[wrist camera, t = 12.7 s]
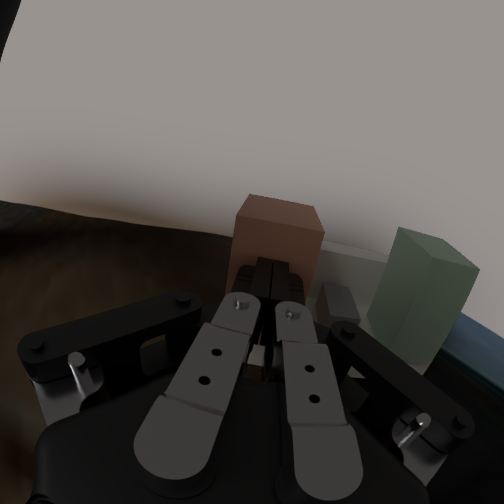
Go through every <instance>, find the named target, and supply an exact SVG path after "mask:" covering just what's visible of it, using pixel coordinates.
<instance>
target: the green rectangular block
mask: <svg viewBox="0 0 504 504" xmlns="http://www.w3.org/2000/svg"><path fill="white" fill-rule="evenodd" d="M479 271H480V269H479V268H478V267H476V266H475V265H474V264H473V263H472V262H471V261H469V260H468V259H467V258H466V257H465V256H463V255H462V254H461V253H460V252H458V251H457V250H456V249H455V248H453V247H452V246H451V245H450V244H448V243H447V242H446V241H444V240H443V239H440V238H437V237H433V236H430V235H426V234H423V233H419V232H416V231H412V230H408V229H405V228H401V227H398V230H397V234H396V237H395V240H394V243H393V246H392V249H391V252H390V255H389V258H388V261H387V263H386V266H385V269H384V272H383V274H382V277H381V280H380V282H379V285H378V287H377V290H376V293H375V295H374V298H373V300H372V302H371V305H370V307H369V310H368V312H367V314H366V315H367V317H368V320H369V322H370V325H371V328H372V330H373V333H374V336H375V338H376V340H377V341H378V342H380V343H381V344H382V345H384V346H385V347H386V348H387V349H389V350H390V351H391V352H393V353H394V354H395V355H396V356H398V357H399V358H400V359H402V360H403V361H412V362H432V360H433V358H434V357H435V355H436V354H437V352H438V351H439V349H440V347H441V346H442V344H443V342H444V341H445V339H446V337H447V336H448V334H449V332H450V330H451V329H452V327H453V325H454V323H455V321H456V319H457V318H458V316H459V314H460V312H461V310H462V308H463V306H464V304H465V302H466V300H467V298H468V296H469V294H470V291H471V289H472V287H473V284H474V282H475V280H476V278H477V275H478V273H479Z"/></svg>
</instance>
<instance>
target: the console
mask: <svg viewBox="0 0 504 504" xmlns="http://www.w3.org/2000/svg"><path fill="white" fill-rule="evenodd" d="M388 258H389V255H387V254H383V253H378V252H373V251H369V250H364V249H360V248H355V247H350V246H346V245H340V244H335V243H331V242H326V241H322V245H321V248H320V252H319V256H318V259H317V263H316V267H315V270H314V274H313V277H312V281H311V284H310V287H309V291H308V294H307V297H306V301H305V306H306V307H307V308H308V309H309V310H310V312H311V315H312V319H313V321H315V322H316V323H318V324H321V325H323V326H326V327H329V328H331V325H332V324H333V323H334V322H336V321H348V322H352V323H354V324H356V325H358V326H359V327H360V328H362V329H363V330H364V331H366V332H367V333H368V334H369V335H371V336H372V337H373V338H375V336H374V333H373V330H372V328H371V325H370V322H369V320H368V317H367V315H366V314H367V312H368V310H369V307H370V305H371V302H372V300H373V298H374V295H375V293H376V290H377V287H378V285H379V282H380V280H381V277H382V274H383V272H384V269H385V266H386V263H387V261H388ZM375 339H376V338H375ZM264 350H265V346H261V345H259V344H258V345H255V344H254V345H253V350H252V352H251V353H250V355H249V360H248V363H247V364H253V365H258V366H262V357H263V354H264ZM404 362H405V363H407V364H408V365H409V366H411V367H412V368H413V369H414V370H416V371H417V372H418V373H419V374H421V375H423V374H424V372H425V371H426V369H427V368H428V366H429V365H430V363H431V362H412V361H404ZM347 374H348V375H349V376H350V377H355V378H365V377H364V376H362V375H361V374H360V373H359V372H358V371H357V370H355V369H354V368H353V367H352V366H351V368H350V370H349V372H348V373H347Z"/></svg>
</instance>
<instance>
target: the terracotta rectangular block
mask: <svg viewBox="0 0 504 504" xmlns="http://www.w3.org/2000/svg"><path fill="white" fill-rule="evenodd" d="M324 233H325V232H324V229H323V227H322V225H321V222H320V220H319V218H318V216H317V213H316V211H315V209H314V207H313V206H309V205H304V204H299V203H294V202H289V201H284V200H279V199H274V198H269V197H263V196H258V195H252V194H249V196H248V197H247V199H246V200H245V202H244V204H243V205H242V207H241V208H240V210H239V212H238V213H237V215H236V221H235V228H234V234H233V241H232V248H231V255H230V262H229V270H228V277H227V284H226V292H225V296H226V295H227V294H229V293H230V292H231V289H232V286H233V284H234V281H235V278H236V275H237V272H238V269H239V268H240V267H242V266H243V265H245V264H246V265H251V266H256V262H257V258H258V257H263V258H268V259H273V261H274V260H279V261H284V262H289V273H293V274H298V275H299V276H300V278H301V279H302V280H303V288H304V296H305V301H306V297H307V294H308V291H309V287H310V284H311V281H312V277H313V274H314V270H315V267H316V263H317V259H318V256H319V252H320V248H321V245H322V241H323V237H324ZM272 266H273V262H272ZM260 336H261V333H260ZM259 343H260V337H259V341H258V344H259Z"/></svg>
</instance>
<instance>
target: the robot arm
mask: <svg viewBox="0 0 504 504" xmlns="http://www.w3.org/2000/svg"><path fill="white" fill-rule="evenodd" d="M20 3H21V0H0V61H1V57H2V53H3V50H4V47H5V44H6V41H7V38H8V35H9V33H10V30H11V28H12V25H13V22H14V20H15V17H16V15H17V12H18V9H19V6H20ZM272 262H273V266H272ZM260 333H261V336H260ZM163 334H165V340H162V341H159V342H157V343H154V344H152V345H149V346H146V347H144V348H141V349H140V347H141V345H142V344H143V343H144V342H145V341H147V340H149V339H152V338H155V337H157V336H160V335H163ZM259 337H260V343H259V345H261V346H265V350H264V354H263V357H262V383H258V382H255V381H252V380H249V379H247V378H244V377H243V376H244V373H245V370H246V366H247V363H248V360H249V355H250V353H251V352H252V350H253V345H254V344H255V345H258V341H259ZM17 352H18V355H19V357H20V359H21V361H22V363H23V365H24V367H25V369H26V373H27V376H28V377H29V379H30V381H31V383H32V385H33V387H34V388H35V390H36V393H37V396H38V400H39V403H40V406H41V409H42V412H43V415H44V417H45V420H46V423H47V425H48V427H47V428H46V429H45V430H44V431H43V432H42V433H41V435H40V437H39V439H38V441H37V443H36V447H35V453H34V460H35V477H34V485H33V490H32V494H31V496H30V498H29V500H28V501H27V503H26V504H430V498H429V494H428V491H427V489H426V485H427V484H428V483H429V481H430V480H431V479H432V477H433V476H434V475H435V473H436V472H437V470H438V469H439V468H440V466H441V465H442V463H443V462H444V460H445V459H446V458H447V457H448V456H449V455H450V454H451V453H453V452H454V451H455V450H456V449H457V448H458V447H459V446H461V445H462V444H463V443H464V442H465V441H466V440H467V439H468V438H469V437H470V436H471V435H472V434H473V433H474V430H475V423H474V420H473V418H472V416H471V415H470V413H469V412H468V411H466V410H465V409H464V408H463V407H461V406H460V405H459V404H458V403H456V402H455V401H454V400H453V399H451V398H450V397H449V396H447V395H446V394H445V393H444V392H442V391H441V390H440V389H439V388H437V387H436V386H435V385H433V384H432V383H431V382H430V381H428V380H427V379H426V378H425V377H423V376H422V375H421V374H419V373H418V372H417V371H416V370H414V369H413V368H412V367H411V366H409V365H408V364H407V363H405V362H404V361H403V360H402V359H400V358H399V357H398V356H396V355H395V354H394V353H393V352H391V351H390V350H389V349H387V348H386V347H385V346H384V345H382V344H381V343H380V342H378V341H377V340H376V339H375V338H373V337H372V336H371V335H369V334H368V333H367V332H366V331H364V330H363V329H362V328H360V327H359V326H358V325H356V324H354V323H352V322H348V321H336V322H334V323H333V324H332V325H331V328H329V327H326V326H323V325H321V324H318V323H316V322H315V321H313V319H312V315H311V312H310V310H309V309H308V308H307V307H306V306H305V296H304V288H303V280H302V279H301V278H300V276H299V275H298V274H293V273H289V262H284V261H279V260H274V261H273V259H268V258H263V257H258V258H257V262H256V266H251V265H246V264H245V265H243V266H242V267H240V268H239V269H238V272H237V275H236V278H235V281H234V284H233V286H232V289H231V292H230V293H229V294H227V295H226V296H225V297H224V299H223V301H222V302H221V303H218V304H202V299H201V298H200V297H199V296H198V295H197V294H195V293H193V292H190V291H185V290H178V291H173V292H170V293H166V294H163V295H160V296H156V297H153V298H150V299H146V300H143V301H140V302H136V303H133V304H130V305H126V306H123V307H120V308H116V309H113V310H109V311H106V312H103V313H99V314H96V315H92V316H89V317H85V318H82V319H78V320H75V321H71V322H68V323H64V324H61V325H57V326H54V327H50V328H47V329H43V330H39V331H36V332H32V333H30V334H28V335H26V336H25V337H23V338H22V339H21V341H20V342H19V344H18V347H17ZM351 366H352V367H353V368H354V369H355V370H357V371H358V372H359V373H360V374H361V375H362V376H364V377H365V378H366V379H367V380H368V381H369V382H370V384H371V392H370V394H369V393H368V392H367V391H366V390H364V389H363V388H362V387H361V386H360V385H359V384H358V383H357V382H356V381H354V380H353V379H352V378H351V377H350V376H349V375H348V374H347V373H348V372H349V370H350V368H351Z"/></svg>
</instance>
